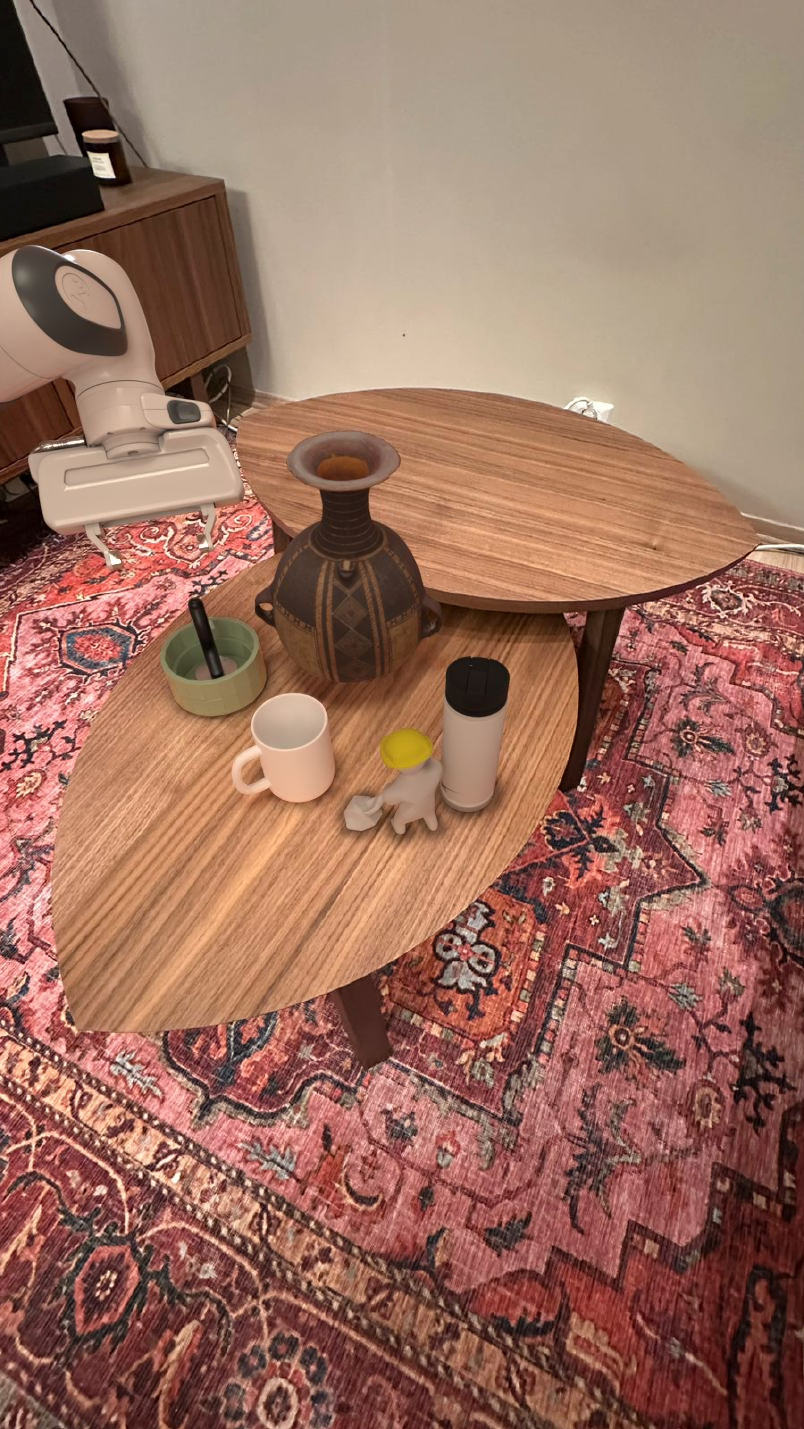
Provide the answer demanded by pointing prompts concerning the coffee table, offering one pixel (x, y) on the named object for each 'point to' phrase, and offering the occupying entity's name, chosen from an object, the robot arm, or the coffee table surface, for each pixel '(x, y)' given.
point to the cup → (289, 749)
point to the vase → (347, 569)
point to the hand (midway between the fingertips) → (162, 560)
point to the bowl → (222, 692)
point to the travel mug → (472, 731)
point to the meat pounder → (208, 646)
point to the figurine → (401, 784)
